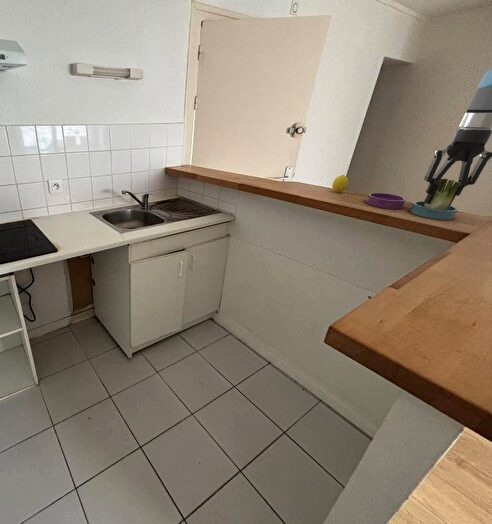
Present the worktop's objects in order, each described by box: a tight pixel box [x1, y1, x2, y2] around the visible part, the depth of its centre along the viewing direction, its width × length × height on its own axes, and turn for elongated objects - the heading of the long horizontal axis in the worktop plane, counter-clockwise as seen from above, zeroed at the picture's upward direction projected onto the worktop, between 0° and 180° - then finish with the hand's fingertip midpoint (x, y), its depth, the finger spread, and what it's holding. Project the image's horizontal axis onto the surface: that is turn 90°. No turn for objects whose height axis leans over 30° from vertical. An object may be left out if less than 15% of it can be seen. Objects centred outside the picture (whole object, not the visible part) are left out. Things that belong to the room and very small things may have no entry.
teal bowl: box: [409, 200, 459, 221], centre depth 98 cm, size 11×11×4 cm
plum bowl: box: [365, 192, 407, 210], centre depth 108 cm, size 11×11×4 cm
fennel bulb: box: [424, 178, 461, 211], centre depth 95 cm, size 6×5×12 cm
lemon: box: [331, 174, 349, 194], centre depth 122 cm, size 6×6×8 cm
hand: (436, 203), depth 96 cm, fingers closed on fennel bulb, 5 cm apart
